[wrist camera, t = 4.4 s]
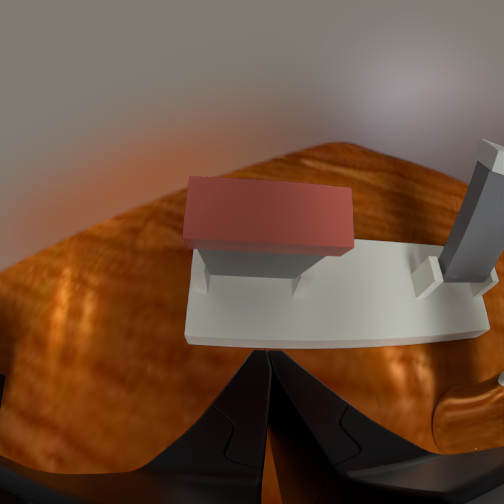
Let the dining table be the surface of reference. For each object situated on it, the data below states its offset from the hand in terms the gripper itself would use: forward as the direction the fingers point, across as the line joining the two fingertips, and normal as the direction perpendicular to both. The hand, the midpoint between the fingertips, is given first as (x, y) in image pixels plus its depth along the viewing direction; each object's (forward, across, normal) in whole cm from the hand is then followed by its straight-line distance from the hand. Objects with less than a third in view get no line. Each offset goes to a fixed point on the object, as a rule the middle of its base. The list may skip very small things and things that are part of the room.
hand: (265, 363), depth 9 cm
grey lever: (+11, -16, 0) cm, 19 cm away
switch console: (+14, -8, +3) cm, 16 cm away
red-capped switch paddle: (+11, 0, 0) cm, 11 cm away
